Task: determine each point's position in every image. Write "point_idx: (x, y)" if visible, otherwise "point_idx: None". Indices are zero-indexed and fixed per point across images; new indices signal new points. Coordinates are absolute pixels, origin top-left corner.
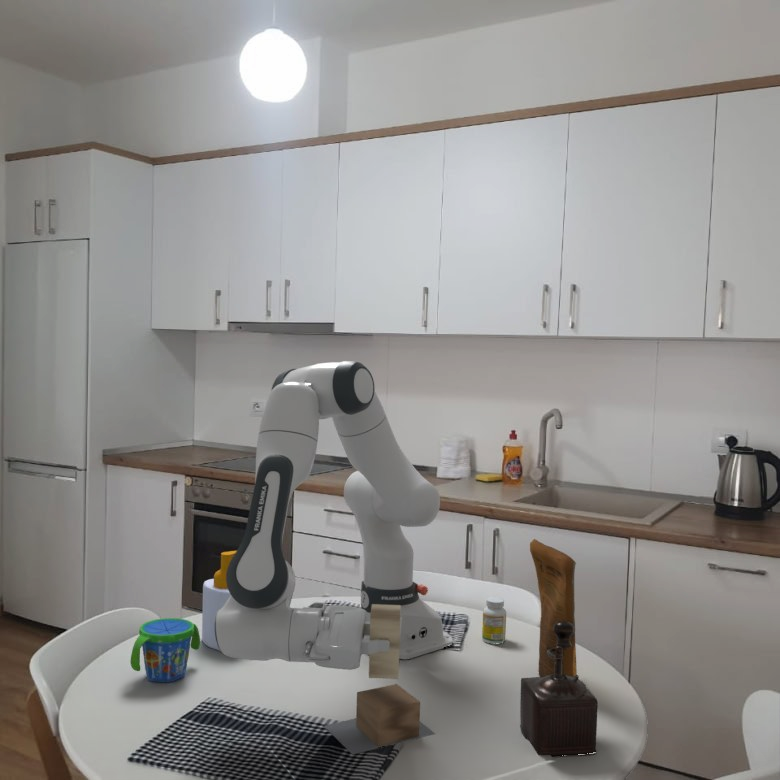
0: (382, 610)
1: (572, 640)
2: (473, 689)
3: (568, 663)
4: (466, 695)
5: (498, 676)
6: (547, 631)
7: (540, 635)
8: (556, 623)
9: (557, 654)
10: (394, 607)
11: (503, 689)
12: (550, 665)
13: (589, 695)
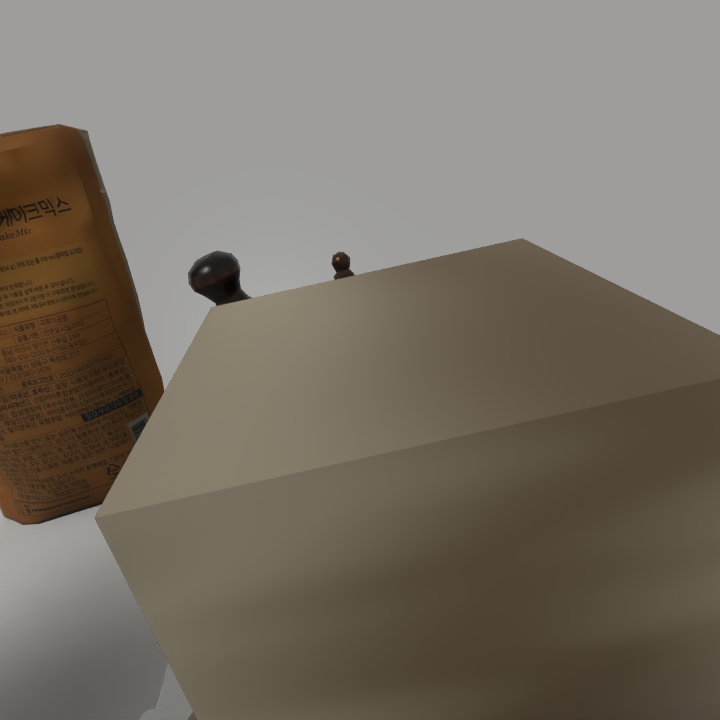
0: (456, 328)
1: (145, 343)
2: (77, 654)
3: (156, 399)
4: (117, 668)
5: (10, 601)
6: (59, 382)
7: (13, 426)
8: (209, 263)
9: (348, 271)
10: (290, 310)
11: (103, 577)
12: (118, 442)
13: None
